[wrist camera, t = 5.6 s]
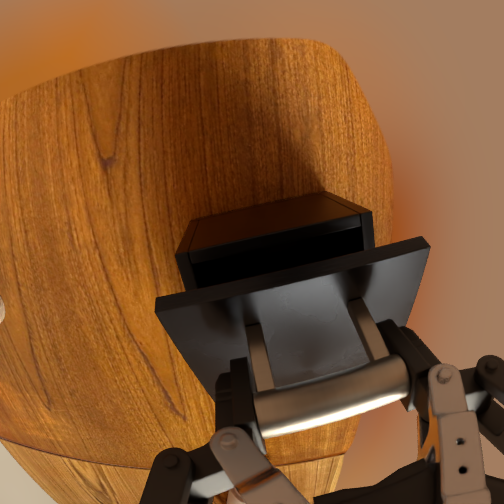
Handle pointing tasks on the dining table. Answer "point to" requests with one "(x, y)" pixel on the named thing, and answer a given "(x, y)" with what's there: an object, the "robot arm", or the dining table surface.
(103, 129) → the dining table surface
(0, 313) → the bottle
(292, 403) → the bin lid
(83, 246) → the dining table surface
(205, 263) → the bin
